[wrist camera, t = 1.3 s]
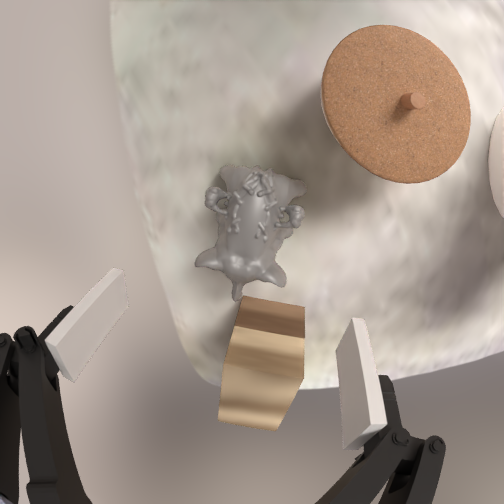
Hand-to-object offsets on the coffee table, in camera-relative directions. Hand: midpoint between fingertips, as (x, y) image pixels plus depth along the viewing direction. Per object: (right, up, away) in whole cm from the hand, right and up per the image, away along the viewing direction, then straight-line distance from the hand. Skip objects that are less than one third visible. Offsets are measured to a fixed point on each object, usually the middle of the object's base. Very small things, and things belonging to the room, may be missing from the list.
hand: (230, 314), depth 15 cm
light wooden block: (+2, -10, +14) cm, 17 cm away
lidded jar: (+12, +16, +5) cm, 20 cm away
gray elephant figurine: (+2, +6, +12) cm, 13 cm away
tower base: (+3, -7, +18) cm, 20 cm away
